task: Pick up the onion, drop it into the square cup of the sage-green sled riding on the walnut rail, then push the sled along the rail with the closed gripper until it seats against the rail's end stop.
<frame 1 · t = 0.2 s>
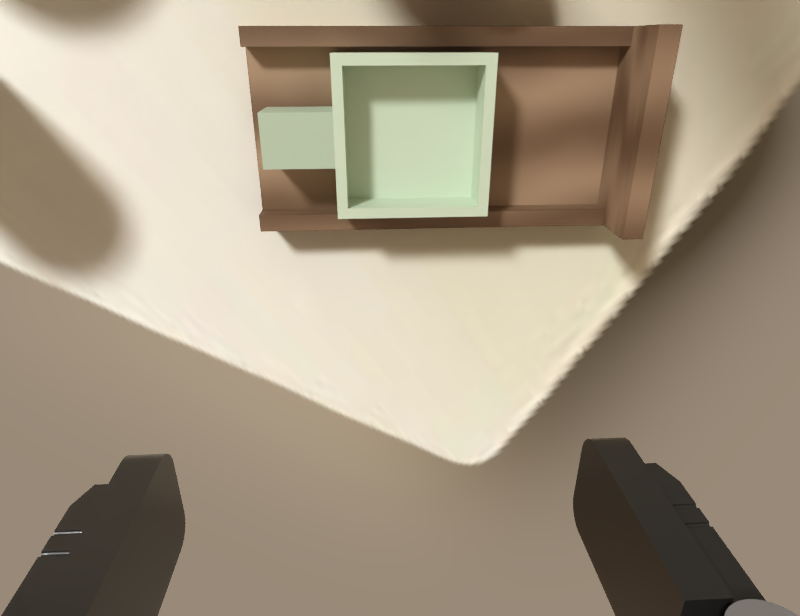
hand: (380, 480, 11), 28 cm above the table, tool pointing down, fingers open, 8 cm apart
rail: (442, 128, 36), on the table
sled: (377, 136, 33), point 3 cm above the table, slide at 0.0 cm
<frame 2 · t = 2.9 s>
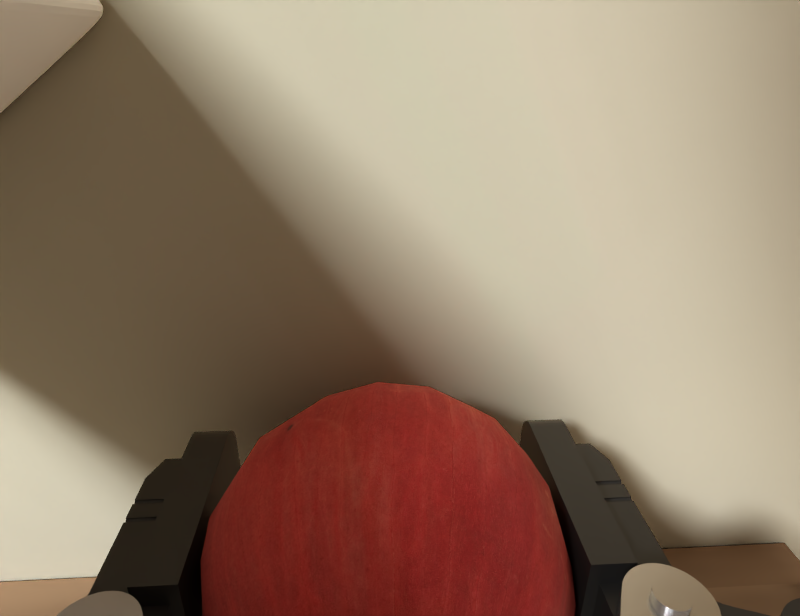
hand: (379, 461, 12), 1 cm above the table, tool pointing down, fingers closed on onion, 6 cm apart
onion: (380, 420, 13), on the table, touching gripper
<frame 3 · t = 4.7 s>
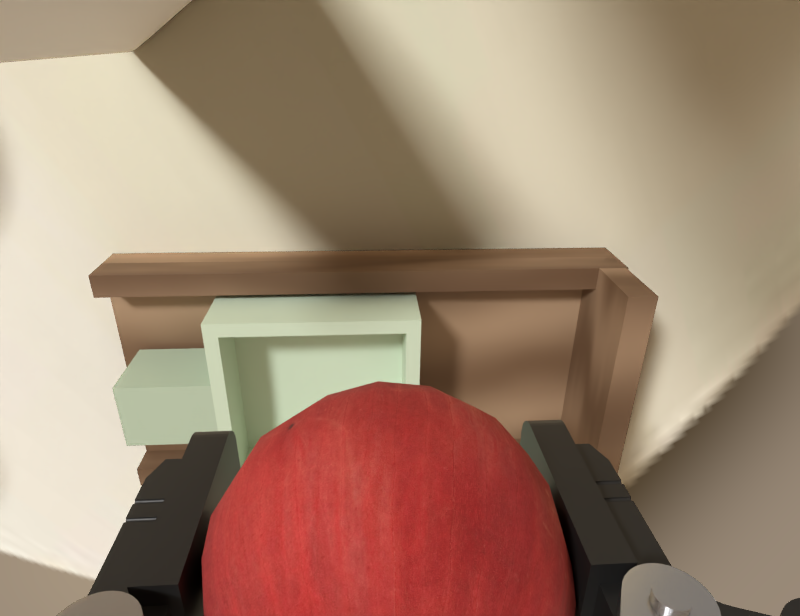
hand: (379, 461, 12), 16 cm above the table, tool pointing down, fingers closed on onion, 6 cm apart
onion: (381, 419, 13), point 15 cm above the table, touching gripper
rail: (367, 355, 29), on the table
sled: (276, 392, 26), point 3 cm above the table, slide at 0.0 cm
when the fingers open (5 cm above the table, at t = 6.8 s): onion drops 2 cm, resting on sled.
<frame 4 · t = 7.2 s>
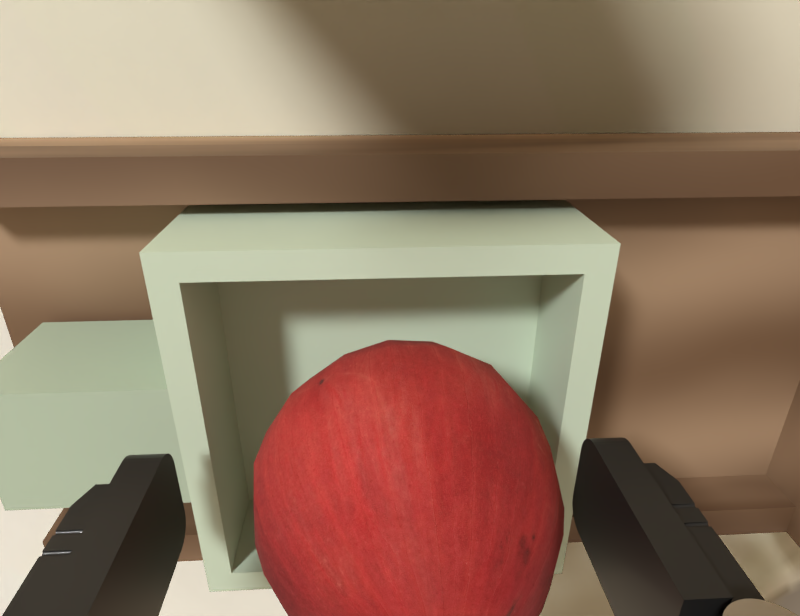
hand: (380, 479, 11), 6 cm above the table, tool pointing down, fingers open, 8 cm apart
onion: (379, 375, 14), point 2 cm above the table, touching sled
rail: (449, 335, 17), on the table
sled: (301, 401, 14), point 3 cm above the table, slide at 0.2 cm, touching onion
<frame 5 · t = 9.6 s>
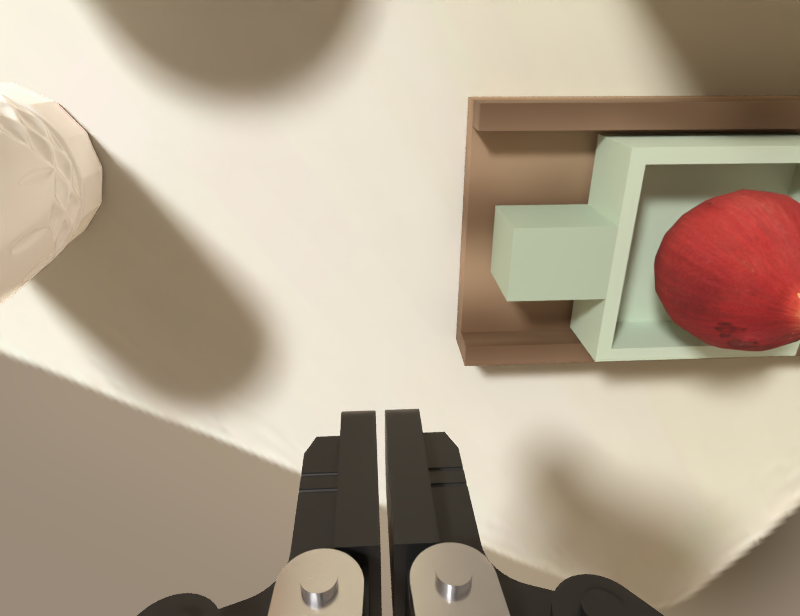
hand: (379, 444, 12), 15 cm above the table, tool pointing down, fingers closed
white cup: (23, 166, 24), on the table
onion: (685, 237, 24), point 2 cm above the table, touching sled
rail: (704, 225, 26), on the table
sled: (653, 248, 23), point 3 cm above the table, slide at 0.2 cm, touching onion
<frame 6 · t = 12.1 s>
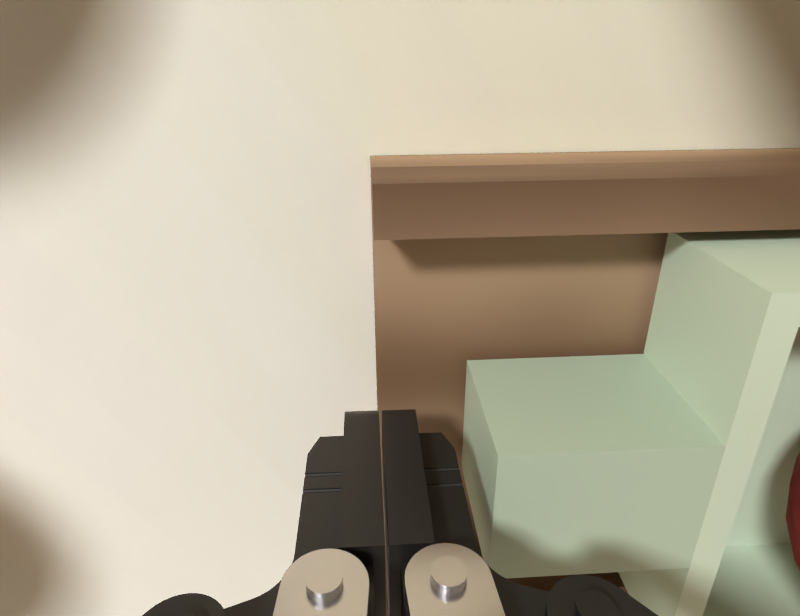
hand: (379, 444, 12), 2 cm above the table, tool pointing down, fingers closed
sled: (774, 448, 12), point 3 cm above the table, slide at 1.1 cm, touching gripper, onion
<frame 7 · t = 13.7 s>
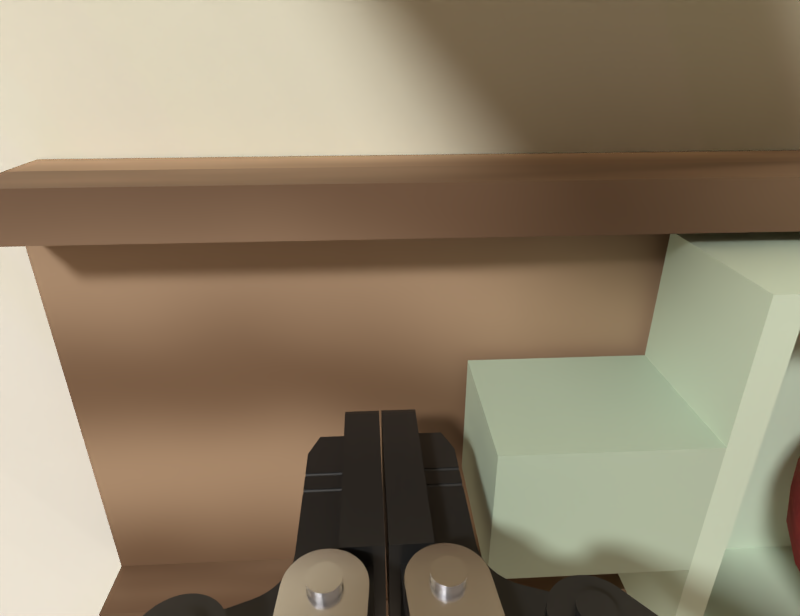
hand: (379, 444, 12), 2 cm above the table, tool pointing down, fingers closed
rail: (555, 377, 15), on the table
sled: (775, 451, 12), point 3 cm above the table, slide at 8.0 cm, touching gripper, onion, rail
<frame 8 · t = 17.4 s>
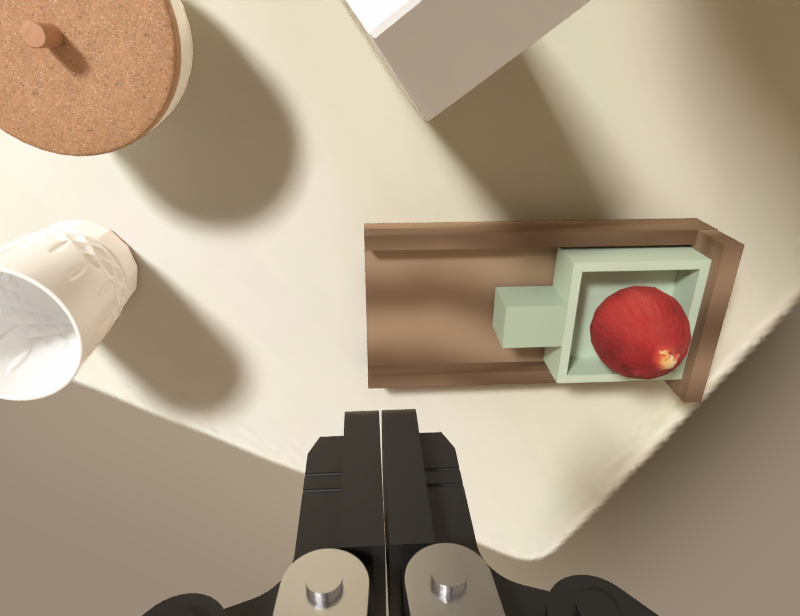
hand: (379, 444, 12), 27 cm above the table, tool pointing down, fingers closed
white cup: (88, 265, 38), on the table
onion: (613, 306, 39), point 2 cm above the table, touching sled
rail: (525, 297, 41), on the table
sled: (592, 314, 38), point 3 cm above the table, slide at 8.0 cm, touching onion
lidded jar: (120, 36, 32), on the table
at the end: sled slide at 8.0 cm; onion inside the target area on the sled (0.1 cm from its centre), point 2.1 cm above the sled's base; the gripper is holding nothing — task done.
